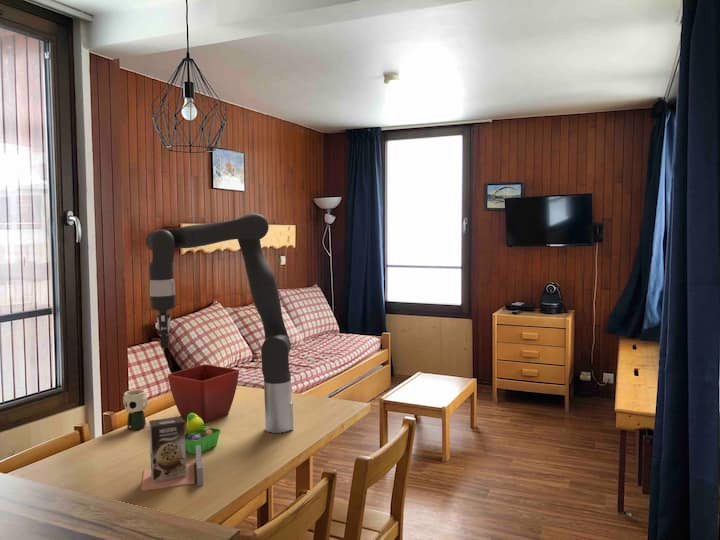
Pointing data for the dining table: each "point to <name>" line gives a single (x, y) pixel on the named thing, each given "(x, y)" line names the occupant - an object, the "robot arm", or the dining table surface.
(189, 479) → the mat
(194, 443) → the fruit basket
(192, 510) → the dining table surface
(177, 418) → the coffee box
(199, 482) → the low wall
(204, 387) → the plant pot
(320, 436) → the dining table surface
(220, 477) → the dining table surface
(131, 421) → the character mug
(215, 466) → the dining table surface
